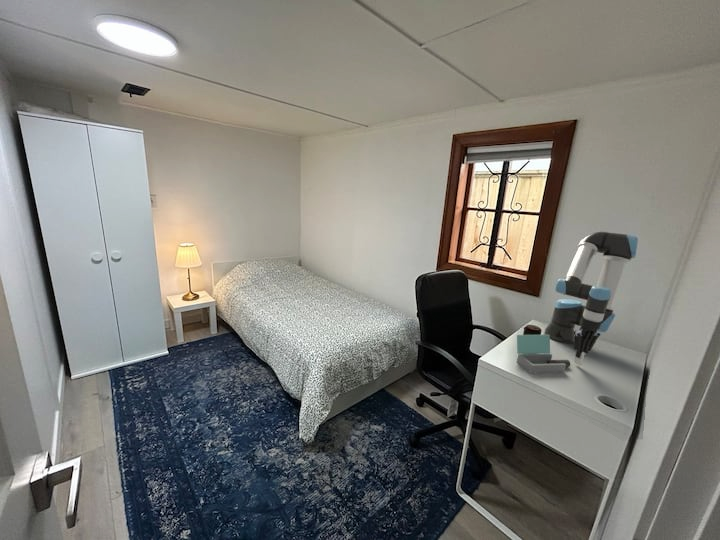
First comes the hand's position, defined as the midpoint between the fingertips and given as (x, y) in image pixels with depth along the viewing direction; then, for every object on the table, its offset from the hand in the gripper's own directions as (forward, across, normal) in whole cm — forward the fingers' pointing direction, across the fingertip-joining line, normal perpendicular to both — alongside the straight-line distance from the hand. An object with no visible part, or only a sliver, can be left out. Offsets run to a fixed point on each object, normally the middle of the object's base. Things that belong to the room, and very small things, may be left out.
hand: (577, 363), depth 145 cm
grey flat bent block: (+2, +21, 0) cm, 21 cm away
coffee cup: (+2, +15, -16) cm, 22 cm away
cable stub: (+2, +11, 0) cm, 11 cm away
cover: (-7, +21, -6) cm, 23 cm away
